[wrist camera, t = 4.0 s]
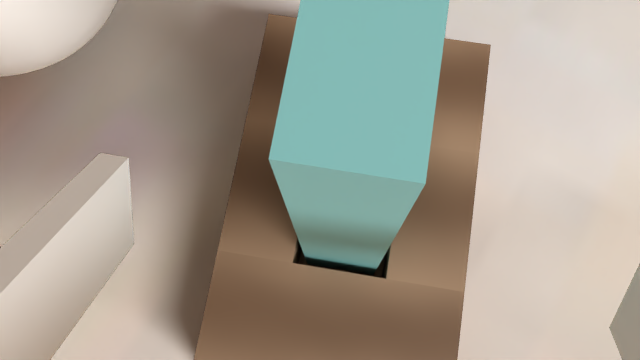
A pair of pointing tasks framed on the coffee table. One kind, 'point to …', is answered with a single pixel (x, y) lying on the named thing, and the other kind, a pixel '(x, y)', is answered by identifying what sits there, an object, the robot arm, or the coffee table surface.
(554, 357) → the coffee table surface
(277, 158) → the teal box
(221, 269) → the walnut box
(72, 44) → the flower in vase
